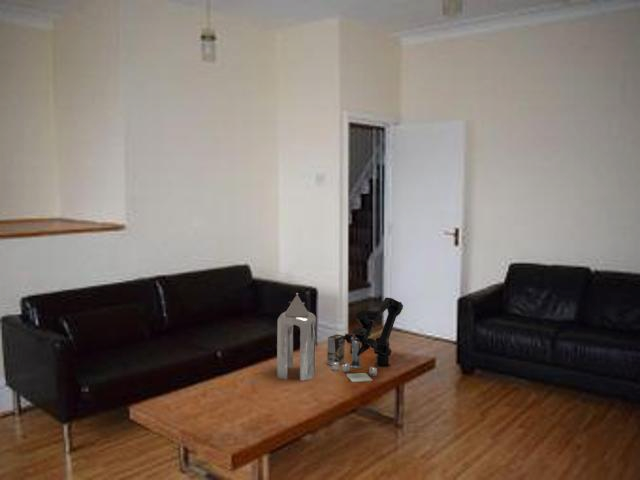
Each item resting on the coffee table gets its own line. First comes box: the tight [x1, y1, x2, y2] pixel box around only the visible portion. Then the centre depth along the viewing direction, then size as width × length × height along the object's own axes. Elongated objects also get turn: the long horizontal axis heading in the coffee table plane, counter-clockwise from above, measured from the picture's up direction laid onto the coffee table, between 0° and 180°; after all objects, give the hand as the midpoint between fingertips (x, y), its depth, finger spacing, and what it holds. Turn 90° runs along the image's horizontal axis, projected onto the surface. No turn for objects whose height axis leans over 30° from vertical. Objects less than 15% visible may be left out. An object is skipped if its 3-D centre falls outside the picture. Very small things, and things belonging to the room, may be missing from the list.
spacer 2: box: [341, 362, 351, 373], centre depth 321 cm, size 4×4×4 cm
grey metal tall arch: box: [276, 292, 317, 381], centre depth 314 cm, size 20×20×45 cm
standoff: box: [349, 339, 362, 370], centre depth 310 cm, size 6×6×14 cm
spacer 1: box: [331, 361, 340, 372], centre depth 324 cm, size 4×4×4 cm
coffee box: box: [326, 333, 346, 366], centre depth 334 cm, size 9×6×16 cm
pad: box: [346, 372, 373, 383], centre depth 311 cm, size 11×11×1 cm
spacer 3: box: [369, 366, 378, 377], centre depth 316 cm, size 4×4×4 cm
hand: (354, 354), depth 309 cm, fingers closed on standoff, 4 cm apart
